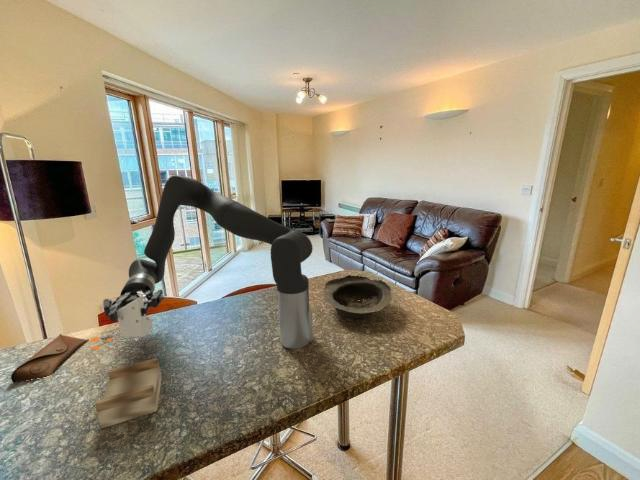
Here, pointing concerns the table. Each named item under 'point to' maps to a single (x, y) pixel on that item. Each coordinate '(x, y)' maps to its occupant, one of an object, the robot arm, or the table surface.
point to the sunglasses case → (48, 358)
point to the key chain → (102, 340)
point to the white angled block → (134, 319)
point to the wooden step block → (130, 393)
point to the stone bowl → (357, 296)
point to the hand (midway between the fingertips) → (127, 315)
